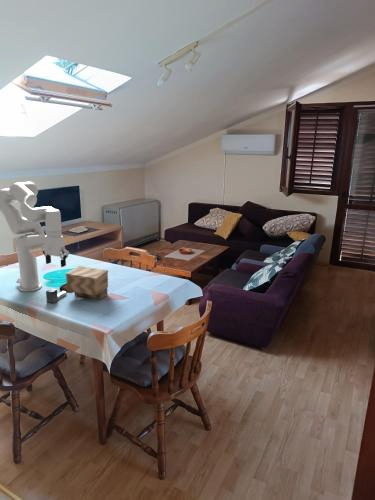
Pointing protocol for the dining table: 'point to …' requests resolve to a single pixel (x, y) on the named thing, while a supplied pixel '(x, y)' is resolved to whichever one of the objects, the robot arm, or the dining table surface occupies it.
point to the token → (79, 297)
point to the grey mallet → (54, 295)
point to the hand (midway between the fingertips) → (56, 264)
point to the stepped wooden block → (88, 282)
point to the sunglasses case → (65, 288)
